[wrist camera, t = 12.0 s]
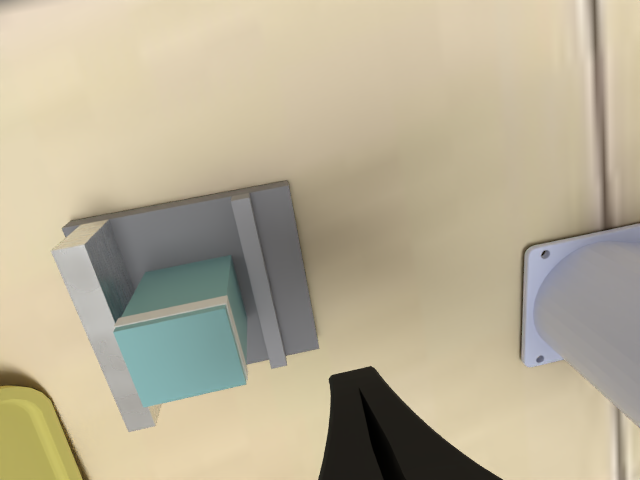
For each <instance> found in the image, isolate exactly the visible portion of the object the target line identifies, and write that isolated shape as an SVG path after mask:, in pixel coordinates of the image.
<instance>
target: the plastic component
mask: <svg viewBox="0 0 640 480" xmlns="http://www.w3.org/2000/svg"><path fill="white" fill-rule="evenodd" d="M0 480H83V479H82V477H81V474H80V472H79V469H78V467H77V464H76V462H75V459H74V457H73V454H72V452H71V449H70V447H69V444H68V442H67V439H66V437H65V435H64V432H63V430H62V427H61V425H60V422H59V420H58V417H57V415H56V412H55V410H54V407H53V405H52V402H51V400H50V399H49V398H47V397H46V396H45V395H44V394H43V393H42V392H40V391H37V390H35V389H33V388H28V387H20V386H0Z"/></svg>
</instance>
